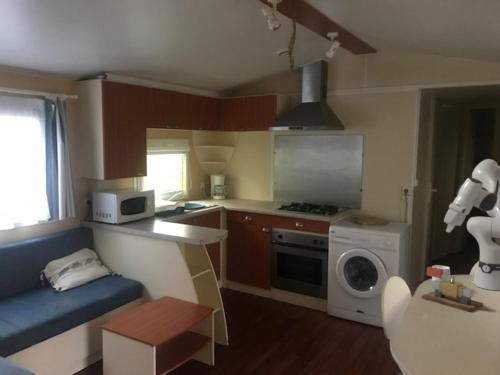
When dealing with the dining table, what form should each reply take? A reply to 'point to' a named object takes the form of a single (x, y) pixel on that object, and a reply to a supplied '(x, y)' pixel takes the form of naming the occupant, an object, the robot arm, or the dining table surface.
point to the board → (452, 302)
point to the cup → (445, 271)
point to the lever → (439, 274)
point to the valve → (453, 290)
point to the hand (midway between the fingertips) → (447, 231)
